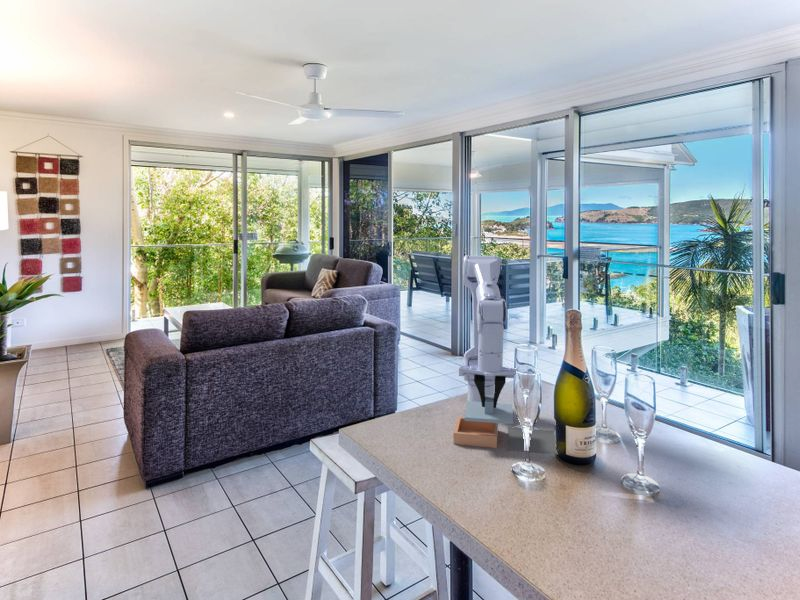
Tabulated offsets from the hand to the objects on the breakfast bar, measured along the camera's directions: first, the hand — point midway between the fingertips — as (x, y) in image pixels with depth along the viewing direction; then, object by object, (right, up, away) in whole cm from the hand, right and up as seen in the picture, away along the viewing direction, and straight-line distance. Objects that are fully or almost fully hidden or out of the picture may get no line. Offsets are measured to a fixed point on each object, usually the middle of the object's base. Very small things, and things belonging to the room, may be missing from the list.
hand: (489, 405), depth 118 cm
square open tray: (-3, -9, +2) cm, 9 cm away
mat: (+10, -9, 0) cm, 13 cm away
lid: (0, -2, 0) cm, 2 cm away
